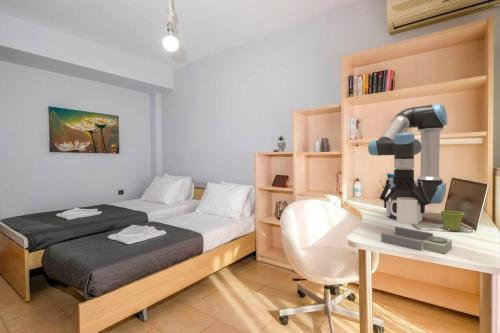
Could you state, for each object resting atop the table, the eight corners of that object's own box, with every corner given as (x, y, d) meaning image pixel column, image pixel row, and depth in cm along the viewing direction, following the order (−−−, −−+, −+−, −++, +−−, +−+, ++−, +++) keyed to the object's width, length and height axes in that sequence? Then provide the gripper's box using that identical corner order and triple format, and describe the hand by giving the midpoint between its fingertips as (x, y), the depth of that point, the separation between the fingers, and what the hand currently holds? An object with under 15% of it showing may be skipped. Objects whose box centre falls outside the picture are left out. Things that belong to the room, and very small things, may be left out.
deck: (395, 233, 123) (395, 225, 123) (453, 245, 107) (453, 236, 106) (381, 241, 113) (381, 232, 113) (442, 255, 96) (442, 245, 96)
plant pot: (448, 226, 134) (448, 209, 134) (468, 231, 126) (469, 213, 125) (435, 228, 132) (435, 211, 131) (455, 233, 123) (455, 215, 122)
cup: (413, 225, 106) (413, 201, 105) (384, 219, 116) (384, 197, 116) (422, 222, 110) (423, 199, 110) (394, 217, 120) (394, 195, 120)
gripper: (372, 168, 119) (371, 214, 120) (434, 170, 101) (433, 224, 101) (379, 167, 124) (378, 212, 125) (439, 169, 105) (439, 221, 106)
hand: (403, 218), depth 113 cm, fingers closed on cup, 12 cm apart
